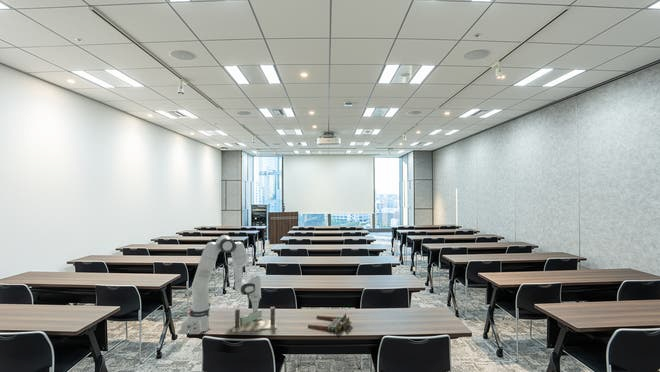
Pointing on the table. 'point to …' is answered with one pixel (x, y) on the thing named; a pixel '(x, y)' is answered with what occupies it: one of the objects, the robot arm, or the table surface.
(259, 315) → the gate panel
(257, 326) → the base
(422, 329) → the table surface
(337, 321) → the miniature gate
